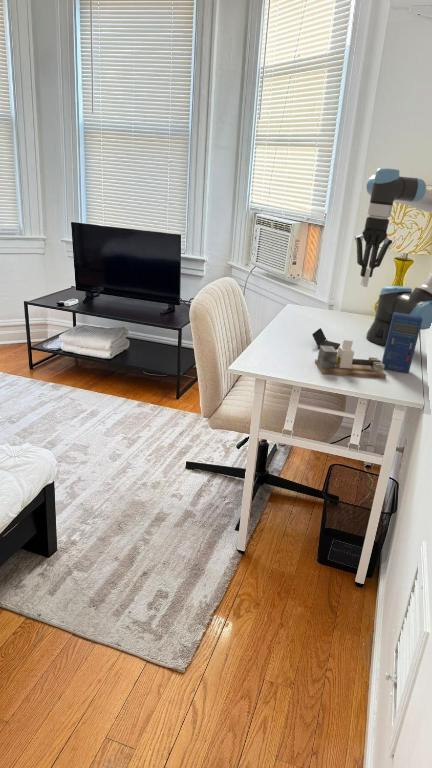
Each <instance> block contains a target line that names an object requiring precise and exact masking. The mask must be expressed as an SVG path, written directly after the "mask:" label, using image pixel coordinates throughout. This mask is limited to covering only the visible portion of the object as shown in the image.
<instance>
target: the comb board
mask: <svg viewBox="0 0 432 768" xmlns="http://www.w3.org/2000/svg"><path fill="white" fill-rule="evenodd" d="M337 353H338V350H337V349H336V350H335V349H334V347H333V346H320V348H319V349H318V355H317V358H316V359H314V364H315V365H316V366H317V368H318V370H319V371H320V373H322V375H331V376H332V375H333V376H348V377H362V378H375V379H376V378H377V379H386V378H387V374H386V373H385V369H384V366H385V365H384V364H383V363H382V360H380V359H379V358H378V357H374V356H373V357H372V356H368V359H362V358H360V359H359V358H353V361H352V365H351V369H350V368H339V363H340V358H339V357H338V356H337Z"/></svg>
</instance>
